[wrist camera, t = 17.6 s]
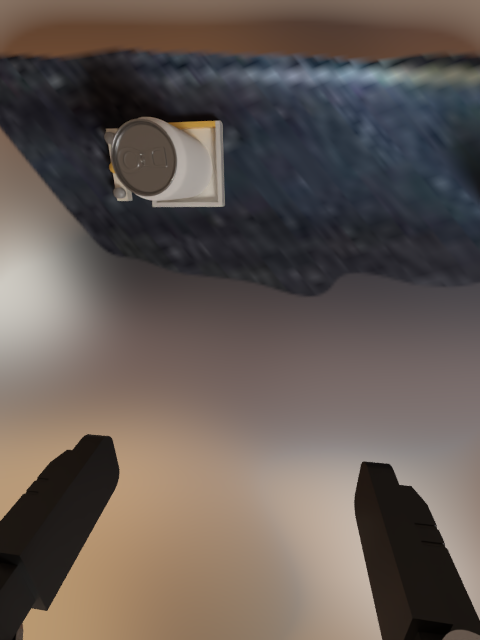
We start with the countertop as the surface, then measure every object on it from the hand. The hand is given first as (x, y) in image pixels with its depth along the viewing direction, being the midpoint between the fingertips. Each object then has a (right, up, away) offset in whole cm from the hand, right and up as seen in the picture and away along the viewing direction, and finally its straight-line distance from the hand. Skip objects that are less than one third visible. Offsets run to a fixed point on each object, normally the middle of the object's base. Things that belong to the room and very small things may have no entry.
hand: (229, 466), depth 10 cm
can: (-6, +23, +26) cm, 35 cm away
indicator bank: (-14, +23, +27) cm, 38 cm away
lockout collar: (-6, +23, +26) cm, 35 cm away
